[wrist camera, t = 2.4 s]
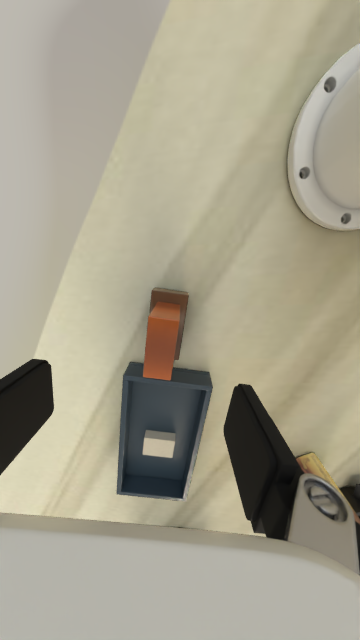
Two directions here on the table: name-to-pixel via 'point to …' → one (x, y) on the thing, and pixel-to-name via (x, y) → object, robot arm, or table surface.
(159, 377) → the orange block on base
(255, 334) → the table surface
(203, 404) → the tray
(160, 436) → the white rectangular block
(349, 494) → the duct tape
